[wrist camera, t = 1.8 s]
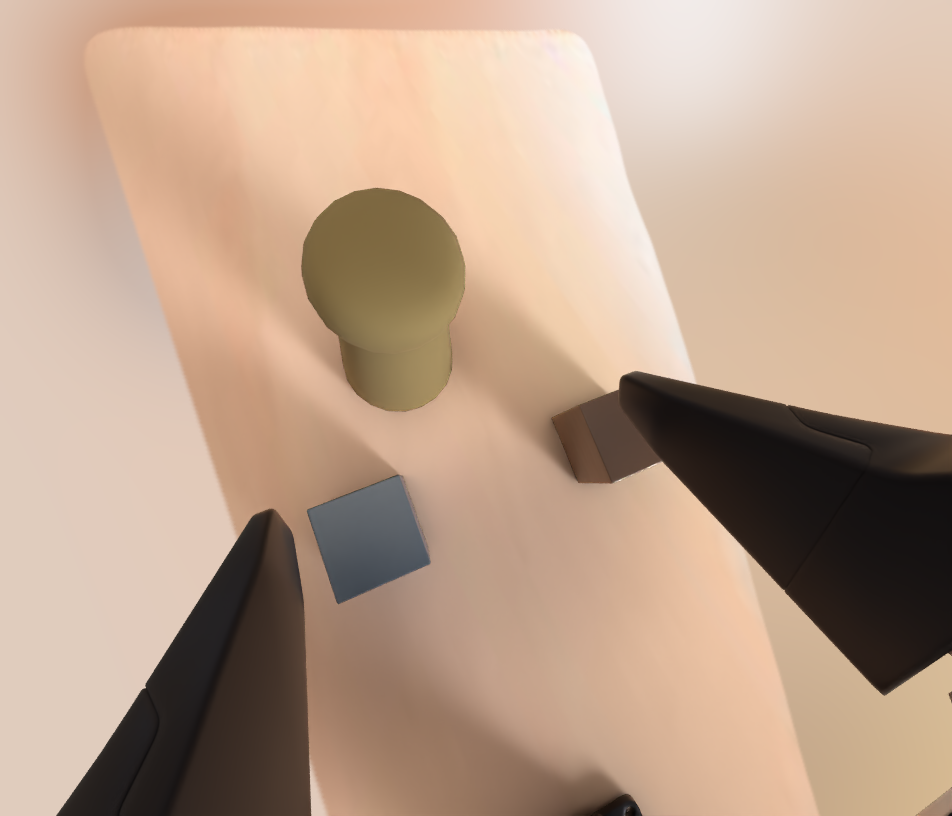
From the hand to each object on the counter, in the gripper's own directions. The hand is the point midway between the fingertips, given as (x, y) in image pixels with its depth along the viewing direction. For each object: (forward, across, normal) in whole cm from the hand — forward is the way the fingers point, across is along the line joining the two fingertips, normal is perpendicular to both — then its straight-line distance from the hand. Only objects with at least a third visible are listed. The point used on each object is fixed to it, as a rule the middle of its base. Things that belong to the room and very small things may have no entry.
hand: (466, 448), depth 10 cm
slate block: (+7, +4, +10) cm, 13 cm away
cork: (+13, 0, +4) cm, 14 cm away
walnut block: (+7, -9, +10) cm, 15 cm away
